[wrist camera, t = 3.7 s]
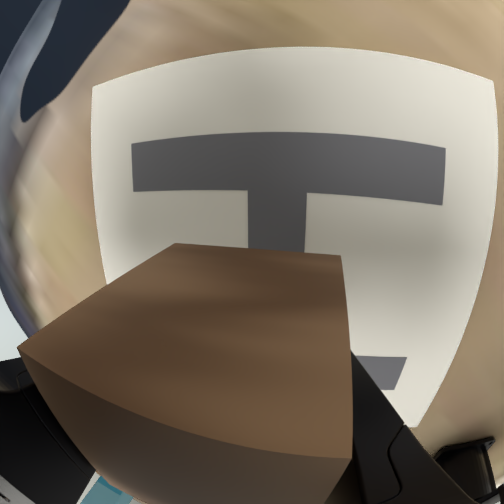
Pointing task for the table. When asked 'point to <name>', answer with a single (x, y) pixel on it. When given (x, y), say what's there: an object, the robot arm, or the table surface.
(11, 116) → the table surface
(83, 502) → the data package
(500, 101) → the table surface
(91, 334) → the walnut block
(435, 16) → the table surface
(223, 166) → the board
